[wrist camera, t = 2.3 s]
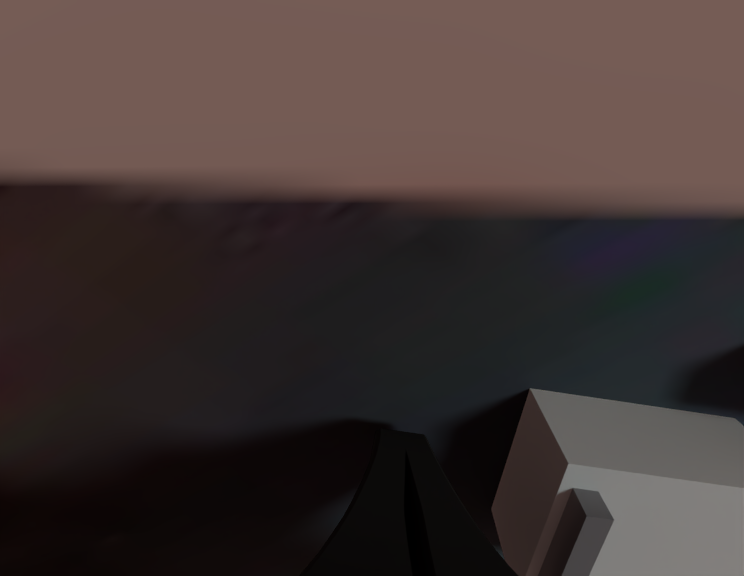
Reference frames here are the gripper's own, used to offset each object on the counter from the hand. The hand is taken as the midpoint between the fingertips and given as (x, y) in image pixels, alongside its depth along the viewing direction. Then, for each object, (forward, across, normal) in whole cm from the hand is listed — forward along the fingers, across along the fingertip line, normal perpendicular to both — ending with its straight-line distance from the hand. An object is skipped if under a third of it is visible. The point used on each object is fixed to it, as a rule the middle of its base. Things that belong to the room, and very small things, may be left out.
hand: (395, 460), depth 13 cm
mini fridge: (+1, -6, 0) cm, 7 cm away
